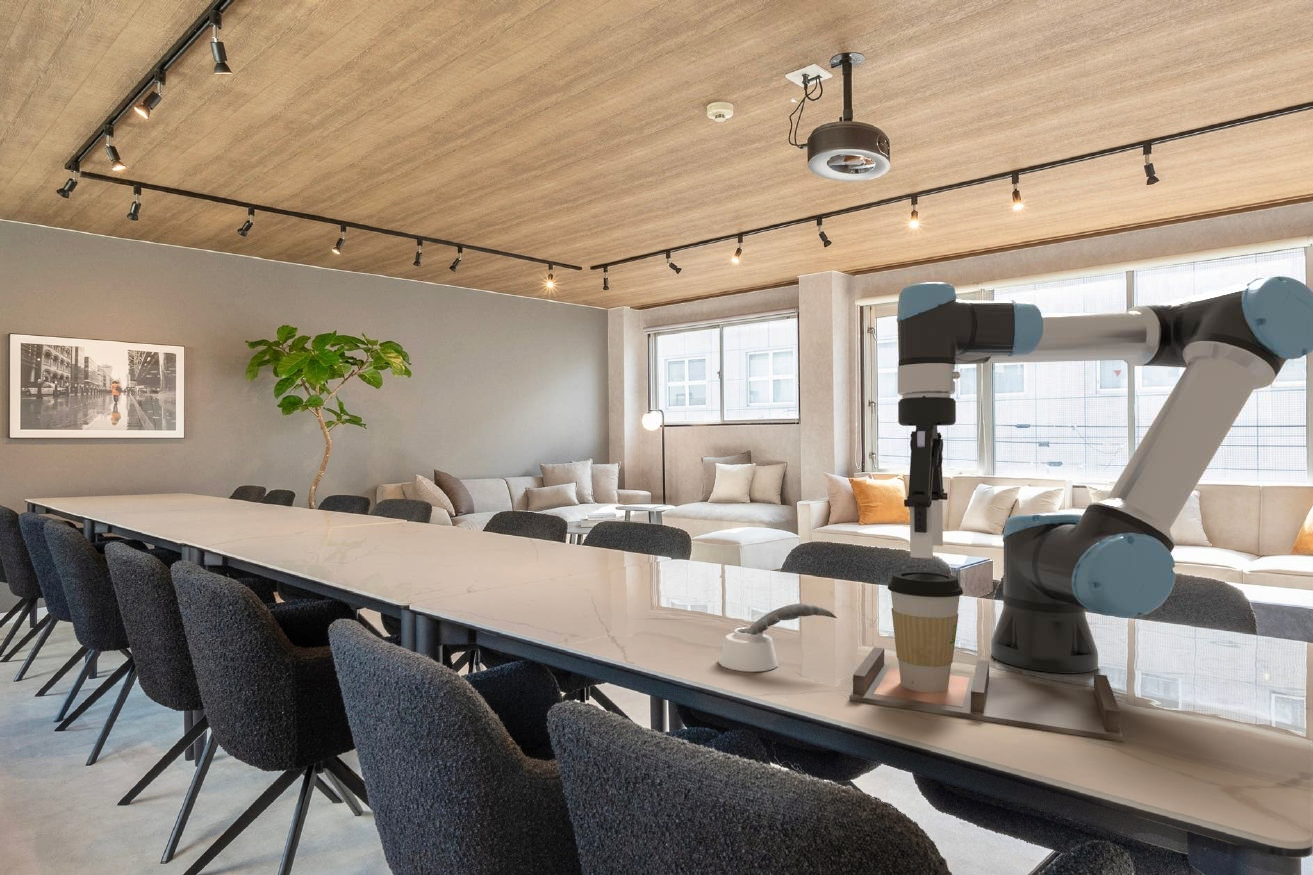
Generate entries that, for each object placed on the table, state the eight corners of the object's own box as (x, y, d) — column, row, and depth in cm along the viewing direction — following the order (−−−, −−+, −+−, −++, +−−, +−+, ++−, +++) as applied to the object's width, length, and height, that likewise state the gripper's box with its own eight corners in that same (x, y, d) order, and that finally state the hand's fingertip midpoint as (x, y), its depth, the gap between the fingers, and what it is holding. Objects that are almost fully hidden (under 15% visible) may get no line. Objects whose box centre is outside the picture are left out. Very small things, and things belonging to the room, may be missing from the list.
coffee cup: (974, 685, 106) (974, 576, 106) (945, 702, 99) (945, 585, 99) (905, 670, 113) (906, 568, 113) (874, 685, 106) (874, 576, 106)
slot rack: (849, 699, 101) (849, 676, 101) (873, 665, 118) (873, 645, 118) (1123, 741, 88) (1123, 714, 88) (1107, 696, 104) (1107, 673, 104)
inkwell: (726, 653, 124) (727, 590, 124) (840, 665, 118) (841, 599, 118) (710, 668, 115) (711, 601, 115) (833, 682, 109) (834, 611, 109)
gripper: (947, 390, 94) (948, 565, 93) (962, 401, 116) (963, 541, 116) (883, 392, 97) (884, 561, 97) (910, 402, 119) (910, 539, 119)
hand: (927, 551), depth 106 cm, fingers open, 13 cm apart
